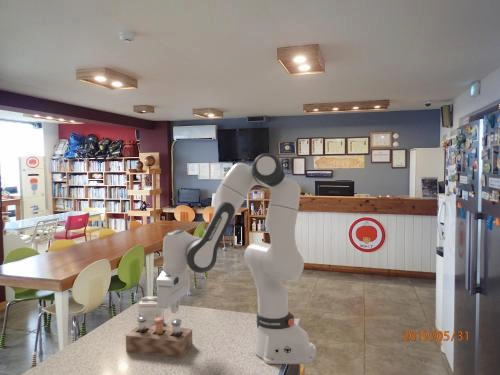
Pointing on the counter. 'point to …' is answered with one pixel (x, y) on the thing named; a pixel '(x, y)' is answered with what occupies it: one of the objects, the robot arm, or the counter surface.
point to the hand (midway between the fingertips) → (175, 311)
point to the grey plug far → (142, 324)
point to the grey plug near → (176, 327)
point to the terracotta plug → (159, 325)
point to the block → (159, 341)
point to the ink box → (150, 309)
